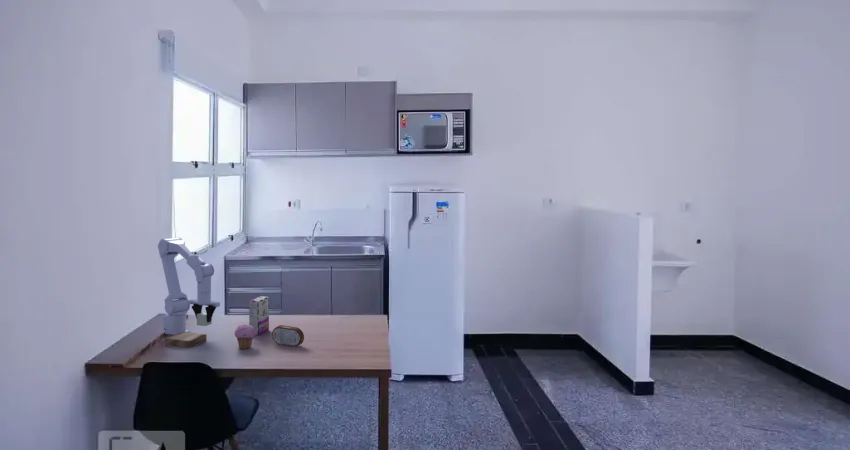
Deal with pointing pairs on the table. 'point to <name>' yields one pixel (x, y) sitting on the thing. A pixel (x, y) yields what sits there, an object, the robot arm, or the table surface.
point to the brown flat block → (185, 339)
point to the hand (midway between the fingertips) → (204, 321)
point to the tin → (288, 335)
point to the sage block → (203, 319)
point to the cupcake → (245, 335)
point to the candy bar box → (259, 314)
